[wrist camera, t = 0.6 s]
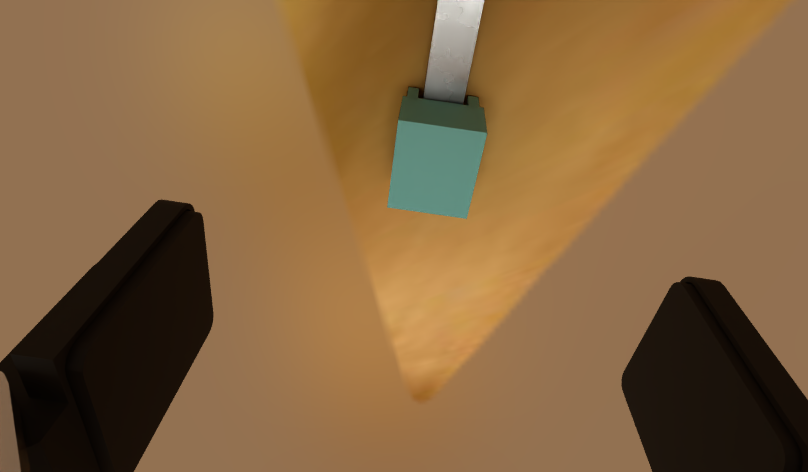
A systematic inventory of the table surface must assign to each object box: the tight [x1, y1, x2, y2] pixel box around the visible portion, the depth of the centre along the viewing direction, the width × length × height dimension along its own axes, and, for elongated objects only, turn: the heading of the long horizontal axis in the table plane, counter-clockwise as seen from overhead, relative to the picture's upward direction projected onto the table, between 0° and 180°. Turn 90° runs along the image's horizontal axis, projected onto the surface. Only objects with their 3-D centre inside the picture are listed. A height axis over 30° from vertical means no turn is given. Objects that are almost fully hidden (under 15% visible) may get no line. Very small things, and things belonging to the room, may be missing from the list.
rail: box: [423, 0, 484, 105], centre depth 37 cm, size 19×3×4 cm, turn 173°
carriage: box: [387, 87, 487, 219], centre depth 38 cm, size 7×6×6 cm
